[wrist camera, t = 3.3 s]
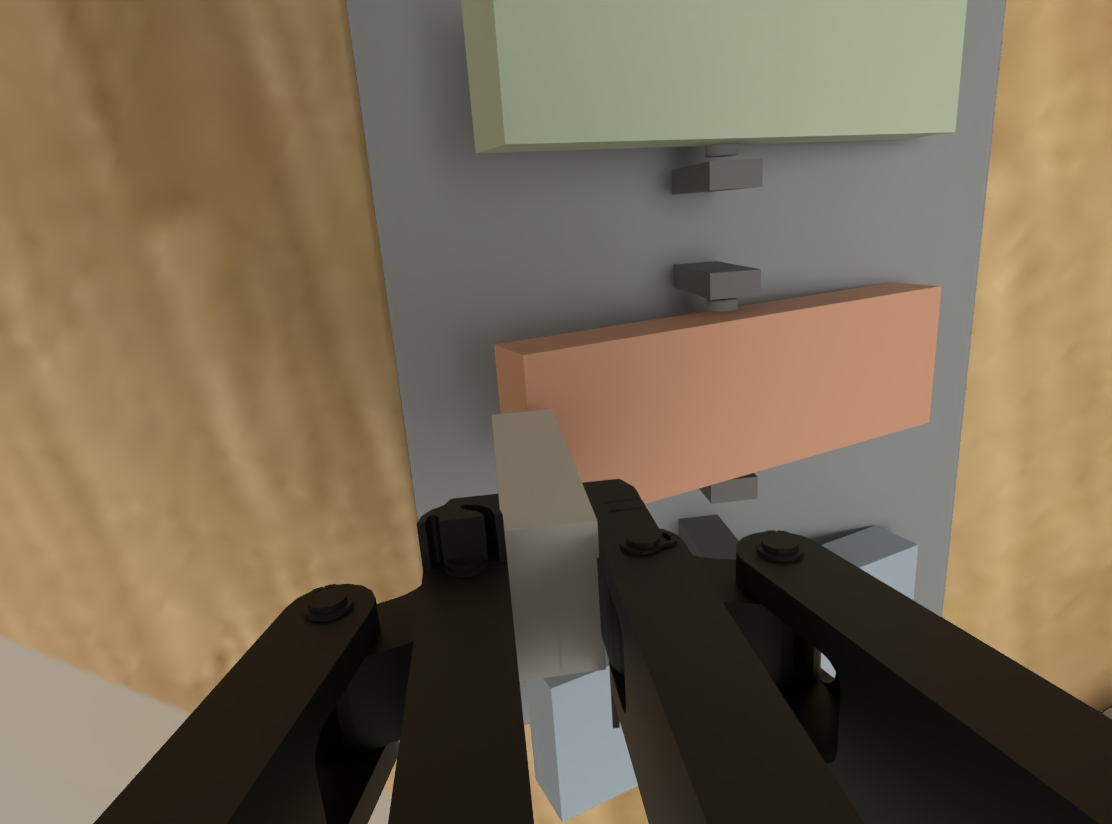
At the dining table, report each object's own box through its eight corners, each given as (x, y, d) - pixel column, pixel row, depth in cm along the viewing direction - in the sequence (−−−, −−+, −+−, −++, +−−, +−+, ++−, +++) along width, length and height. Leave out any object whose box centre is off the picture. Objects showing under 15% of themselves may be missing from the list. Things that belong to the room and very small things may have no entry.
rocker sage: (446, -78, 17) (482, -125, 14) (900, -27, 23) (972, -54, 21) (470, 167, 18) (506, 158, 16) (888, 150, 25) (954, 142, 23)
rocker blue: (516, 636, 22) (550, 680, 20) (864, 514, 29) (919, 537, 27) (530, 775, 24) (562, 830, 22) (857, 630, 30) (907, 660, 28)
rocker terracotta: (486, 331, 19) (522, 343, 17) (880, 273, 26) (942, 277, 24) (504, 512, 21) (538, 544, 19) (871, 414, 28) (928, 430, 25)
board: (340, -74, 22) (300, -160, 17) (991, -96, 24) (1129, -179, 19) (448, 715, 30) (443, 814, 25) (920, 651, 32) (1001, 731, 27)
